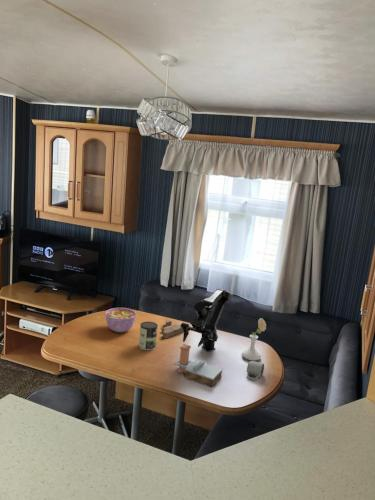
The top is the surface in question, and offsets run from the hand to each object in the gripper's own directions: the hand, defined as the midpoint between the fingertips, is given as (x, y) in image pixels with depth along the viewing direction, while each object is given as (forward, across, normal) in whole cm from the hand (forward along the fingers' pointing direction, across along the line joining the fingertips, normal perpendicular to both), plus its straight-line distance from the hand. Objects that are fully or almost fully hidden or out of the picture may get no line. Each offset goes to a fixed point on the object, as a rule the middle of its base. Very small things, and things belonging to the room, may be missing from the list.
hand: (190, 344), depth 218 cm
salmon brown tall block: (+14, 0, +4) cm, 14 cm away
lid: (+11, +8, +2) cm, 14 cm away
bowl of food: (-1, -58, +19) cm, 61 cm away
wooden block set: (-13, -33, +32) cm, 48 cm away
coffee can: (+6, -31, +13) cm, 34 cm away
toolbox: (+14, +12, +4) cm, 19 cm away
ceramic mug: (+1, +35, +18) cm, 39 cm away
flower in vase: (-14, +26, +32) cm, 43 cm away
